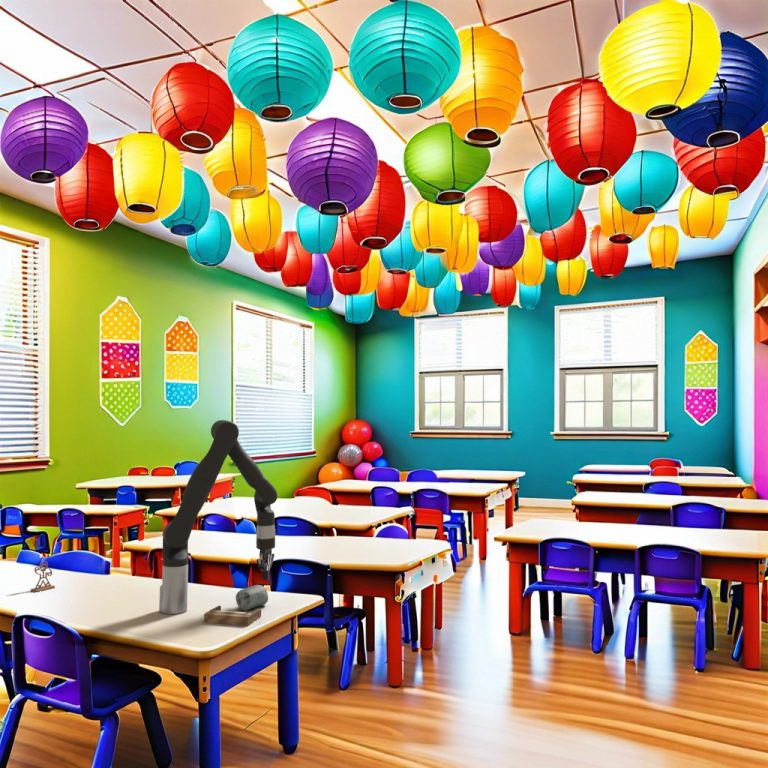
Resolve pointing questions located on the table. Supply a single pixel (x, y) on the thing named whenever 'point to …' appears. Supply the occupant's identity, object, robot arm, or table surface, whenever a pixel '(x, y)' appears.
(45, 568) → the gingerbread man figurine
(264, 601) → the spool
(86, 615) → the table surface
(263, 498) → the robot arm
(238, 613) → the notched board
